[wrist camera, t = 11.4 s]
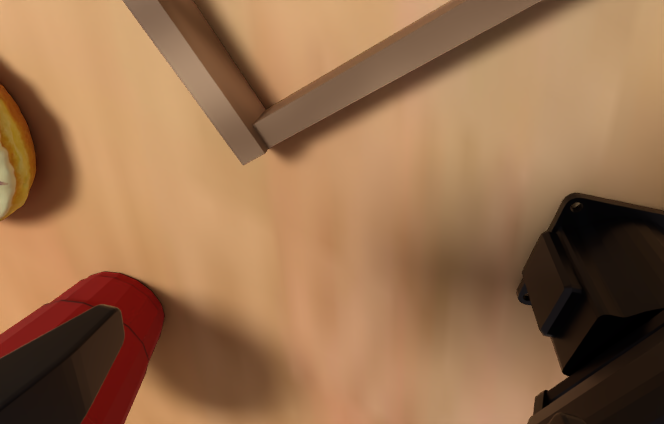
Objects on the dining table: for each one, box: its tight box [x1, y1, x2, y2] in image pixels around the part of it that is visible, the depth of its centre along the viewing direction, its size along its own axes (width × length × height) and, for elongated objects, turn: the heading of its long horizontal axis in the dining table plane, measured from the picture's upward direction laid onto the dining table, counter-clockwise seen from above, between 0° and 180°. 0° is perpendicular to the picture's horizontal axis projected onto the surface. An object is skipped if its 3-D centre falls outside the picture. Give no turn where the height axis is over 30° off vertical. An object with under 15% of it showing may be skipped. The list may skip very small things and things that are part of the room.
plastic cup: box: [0, 272, 165, 424], centre depth 24 cm, size 11×11×12 cm
